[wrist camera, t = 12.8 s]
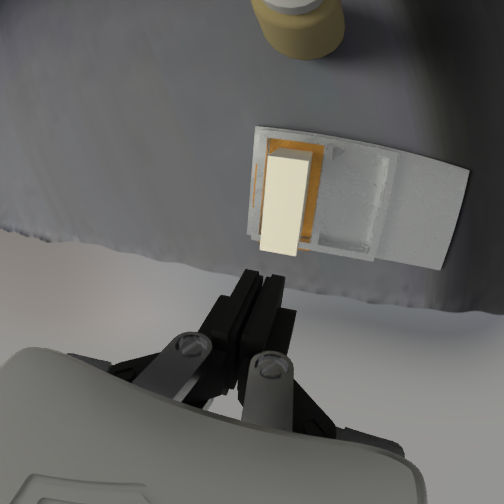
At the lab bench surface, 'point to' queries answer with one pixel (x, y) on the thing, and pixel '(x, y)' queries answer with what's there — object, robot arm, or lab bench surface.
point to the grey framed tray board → (366, 198)
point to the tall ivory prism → (285, 200)
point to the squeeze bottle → (301, 26)
